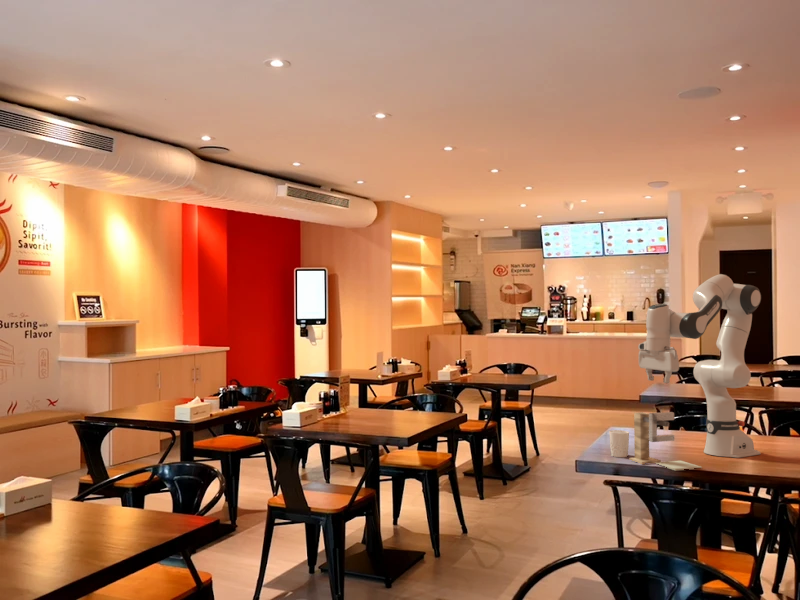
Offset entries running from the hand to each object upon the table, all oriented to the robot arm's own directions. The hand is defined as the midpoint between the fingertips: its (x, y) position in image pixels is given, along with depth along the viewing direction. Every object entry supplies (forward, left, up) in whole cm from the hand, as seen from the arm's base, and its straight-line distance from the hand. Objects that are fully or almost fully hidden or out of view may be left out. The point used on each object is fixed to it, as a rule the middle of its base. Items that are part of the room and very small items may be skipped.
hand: (658, 381), depth 277 cm
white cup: (+3, -22, -33) cm, 40 cm away
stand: (0, -4, -33) cm, 33 cm away
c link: (-1, 0, -23) cm, 23 cm away
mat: (-7, +2, -33) cm, 34 cm away
